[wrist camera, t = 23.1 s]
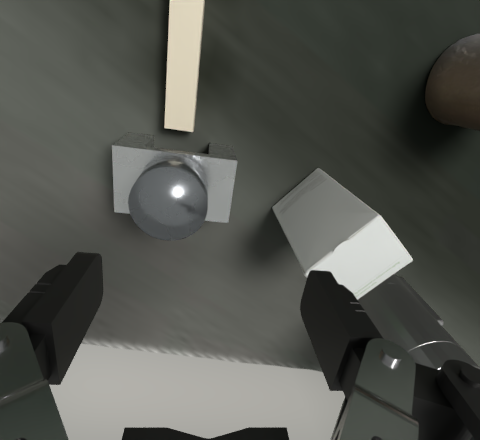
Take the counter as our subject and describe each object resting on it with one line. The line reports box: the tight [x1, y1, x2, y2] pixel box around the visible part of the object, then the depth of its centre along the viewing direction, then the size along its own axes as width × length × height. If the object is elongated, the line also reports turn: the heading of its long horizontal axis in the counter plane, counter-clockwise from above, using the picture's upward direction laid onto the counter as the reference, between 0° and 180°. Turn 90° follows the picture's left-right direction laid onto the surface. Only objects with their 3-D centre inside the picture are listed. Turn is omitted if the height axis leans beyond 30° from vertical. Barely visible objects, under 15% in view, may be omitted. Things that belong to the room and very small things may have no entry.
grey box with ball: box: [112, 132, 237, 240], centre depth 32 cm, size 12×7×12 cm, turn 81°
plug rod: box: [164, 0, 205, 132], centre depth 28 cm, size 4×23×4 cm, turn 171°
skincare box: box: [272, 168, 413, 300], centre depth 33 cm, size 8×7×16 cm
